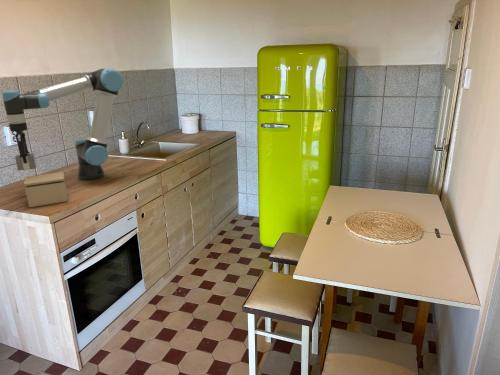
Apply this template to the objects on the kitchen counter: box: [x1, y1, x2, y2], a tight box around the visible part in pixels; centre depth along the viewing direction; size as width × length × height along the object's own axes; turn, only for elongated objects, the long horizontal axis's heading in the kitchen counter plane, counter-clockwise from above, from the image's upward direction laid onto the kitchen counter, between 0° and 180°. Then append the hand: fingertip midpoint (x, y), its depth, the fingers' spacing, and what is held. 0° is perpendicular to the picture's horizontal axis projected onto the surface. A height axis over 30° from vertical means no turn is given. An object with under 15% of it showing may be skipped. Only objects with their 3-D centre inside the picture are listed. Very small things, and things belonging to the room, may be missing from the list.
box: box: [24, 180, 69, 208], centre depth 189 cm, size 17×16×10 cm
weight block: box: [14, 152, 37, 172], centre depth 193 cm, size 8×5×7 cm, turn 115°
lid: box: [23, 171, 66, 187], centre depth 187 cm, size 17×16×1 cm
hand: (27, 167), depth 194 cm, fingers closed on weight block, 5 cm apart
